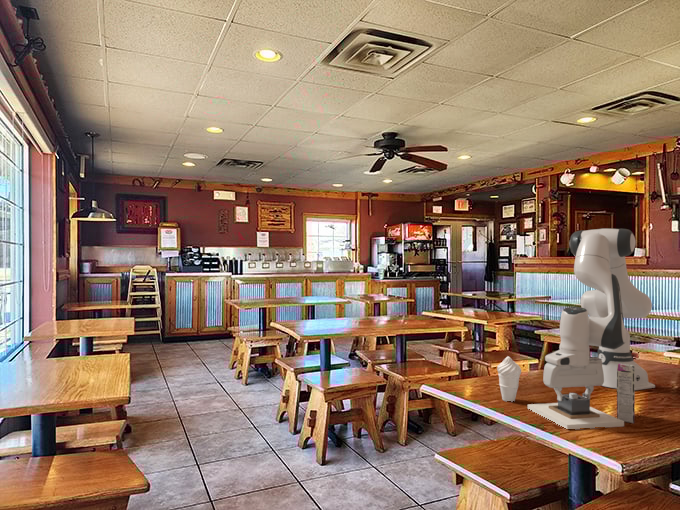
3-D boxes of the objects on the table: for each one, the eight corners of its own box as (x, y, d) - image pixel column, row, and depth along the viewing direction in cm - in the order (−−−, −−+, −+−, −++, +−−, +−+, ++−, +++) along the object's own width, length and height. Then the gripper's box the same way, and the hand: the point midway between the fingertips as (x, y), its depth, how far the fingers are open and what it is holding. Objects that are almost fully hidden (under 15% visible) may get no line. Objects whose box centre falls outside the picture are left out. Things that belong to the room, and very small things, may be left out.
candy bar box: (617, 411, 159) (617, 363, 159) (634, 414, 157) (635, 365, 157) (615, 420, 150) (616, 369, 150) (634, 424, 147) (635, 371, 147)
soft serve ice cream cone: (503, 395, 176) (503, 352, 176) (525, 400, 170) (525, 356, 170) (492, 399, 170) (493, 355, 170) (514, 405, 164) (515, 359, 164)
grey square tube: (575, 408, 157) (575, 393, 157) (589, 415, 150) (589, 399, 150) (557, 409, 155) (558, 394, 155) (571, 416, 149) (571, 400, 149)
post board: (578, 406, 165) (579, 384, 165) (624, 426, 145) (624, 401, 145) (527, 408, 160) (527, 386, 161) (567, 430, 141) (567, 404, 141)
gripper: (594, 354, 158) (594, 395, 158) (540, 356, 154) (540, 398, 154) (609, 358, 152) (608, 401, 152) (553, 360, 148) (552, 404, 148)
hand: (573, 399), depth 153 cm, fingers open, 8 cm apart
